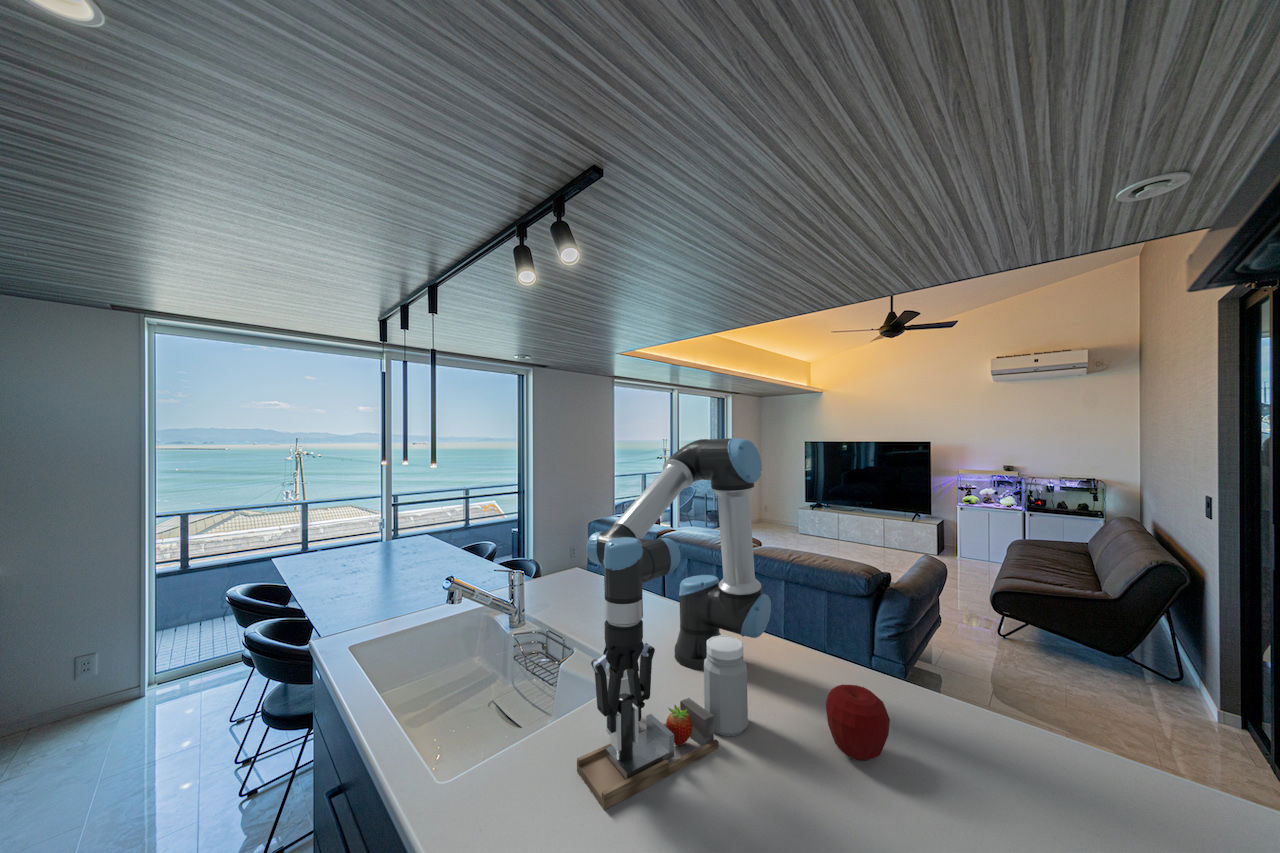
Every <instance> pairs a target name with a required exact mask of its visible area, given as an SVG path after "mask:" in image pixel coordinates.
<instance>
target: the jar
mask: <svg viewBox="0 0 1280 853" xmlns="http://www.w3.org/2000/svg"><path fill="white" fill-rule="evenodd" d="M703 682H704V684H703V686H704V687H703V690H704V691H703V693H704V694H703V696H704V698H703V699H704V709H705V710H706V711H708V712H709V713H710V714H712V715H713V721H714V733H716V734H719V735H721V736H726V737H733V736H737V735H740V734H741V733H742V732H743V731H745V729H746V728H747V727H748V725H749V718H748V717H749V715H748V713H749V711H748V707H749V706H748V705H749V704H748V668H747V662H746V661H745V660H744V643H743V641H741V640H740V639H739V638H736V637H734V636H730V635H722V634H721V635H719V636H714V637H711V638H710V639H708V640H707V657H706V659H705V660H704V669H703Z"/></svg>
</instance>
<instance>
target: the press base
mask: <svg viewBox="0 0 1280 853" xmlns="http://www.w3.org/2000/svg"><path fill="white" fill-rule="evenodd" d="M686 709H688V710H687V713H690V714H689V716H690V718H691V721H692V733H691V735H690V737H689V738H690V739H692V740H693V741H694V742H695V743H696V744H698V745H699V746H700V747H698V748H696V749H694V750H692V751H690V752H688V753H686V754H684V755H682V756H681V757H678V758H677V759H676V758H675V759H674V760H673V761H671V762H669V761H668V760H664V761H662V762H660V763H658V764H656V765H654V766H652V767H650V768H648V769H646V770H644V771H642V772H640V773H638V774H636V775H634V776H632V777H630V778H628V779H627V780H626V779H625V777H624V776H623V775H622V774H621V773H620V771H619V770H618V769H617V768H616V767H615V765H614V764H613V763H612V762H611V761H610V759H609V758H608V757H607V756H606V748H608V747H610V746H612V745H611V742H610V743H608V744H605V745H604V746H602V747H598V749H595V750H593V751H590V752H588V753H585V754H583V755H582V756H578V757H577V758H576V772H577V774H578V775H579V776H580V778H581V779H582V781H583V782H584V783H585V785H586V787H587V788H588V789H589V790H590V792H591V794H593V796H594V798H595V799H596V801H597V802H598V803H599V805H600V806H601V808H602V810H604V811H606V810H607V809H609V808H612V807H614V806H615V805H617V804H619V803H621V802H623V801H624V800H627V799H628V798H630V797H633V796H634V795H636V794H637V793H640V792H641V791H644V790H645V789H647V788H648V787H651V786H653V785H654V784H656V783H658V782H660V781H662V780H664V779H666V778H667V777H669V776H672V775H674V774H675V773H677V772H678V771H681V770H683V769H684V768H686V767H688V766H690V765H692V764H694V763H696V762H697V761H700V760H702V759H703V758H705V757H707V756H709V755H711V754H713V753H714V752H716V751H718V750H720V741H719V740H717V739H716V738H715V736H714V735H715V734H714V733H715V732H714V721H713V715H712V714H710V713H709V712H708V711H706V710H705V707H704V708H703V707H702V706H701V705H699V703H697V702H696V701H695V700H693V699H691V698H690V697H688V698H684V699H682V700H680V701H679V710H682V711H684V710H686ZM662 724H663V723H662ZM663 725H664V726H665V727H667V726H666V723H664V724H663Z"/></svg>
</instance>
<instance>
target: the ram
mask: <svg viewBox="0 0 1280 853" xmlns="http://www.w3.org/2000/svg"><path fill="white" fill-rule="evenodd" d="M617 712H619V713H620V714H621V751H617V750H616V749H615V748H614V747H613V746H610V747H608V748H606V756H607V757H608V758H609V759H610V761H611V762H612V763H613V764H614V765H615V767H616V768H617V769H618V770H619V771H620V773H621V774H622V775H623V776H624V777H625V779H626V780H627V779H628V778H630V777H632V776H634V775H636V774H638V773H640V772H642V771H644V770H646V769H648V768H650V767H652V766H654V765H656V764H658V763H660V762H662V761H664V760H667V761H668V760H670V759H671V758H674V757H675V743H674V734H673V733H672V732H671V731H670V730H669V729H668V728H667V727H665V726H664V725H663V723H662V722H661V721H660V720H659V719H658V718H656V716H654V715H653V714H652V713H649V714H647V715H646V716H645V724H646V728H645V730H644V731H642V732H639V742H638V743H636V744H635V743H634V742H633V700H632V696H631V695H630V694H627V693H623V694H620V695H619V703H618V711H617Z"/></svg>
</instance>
